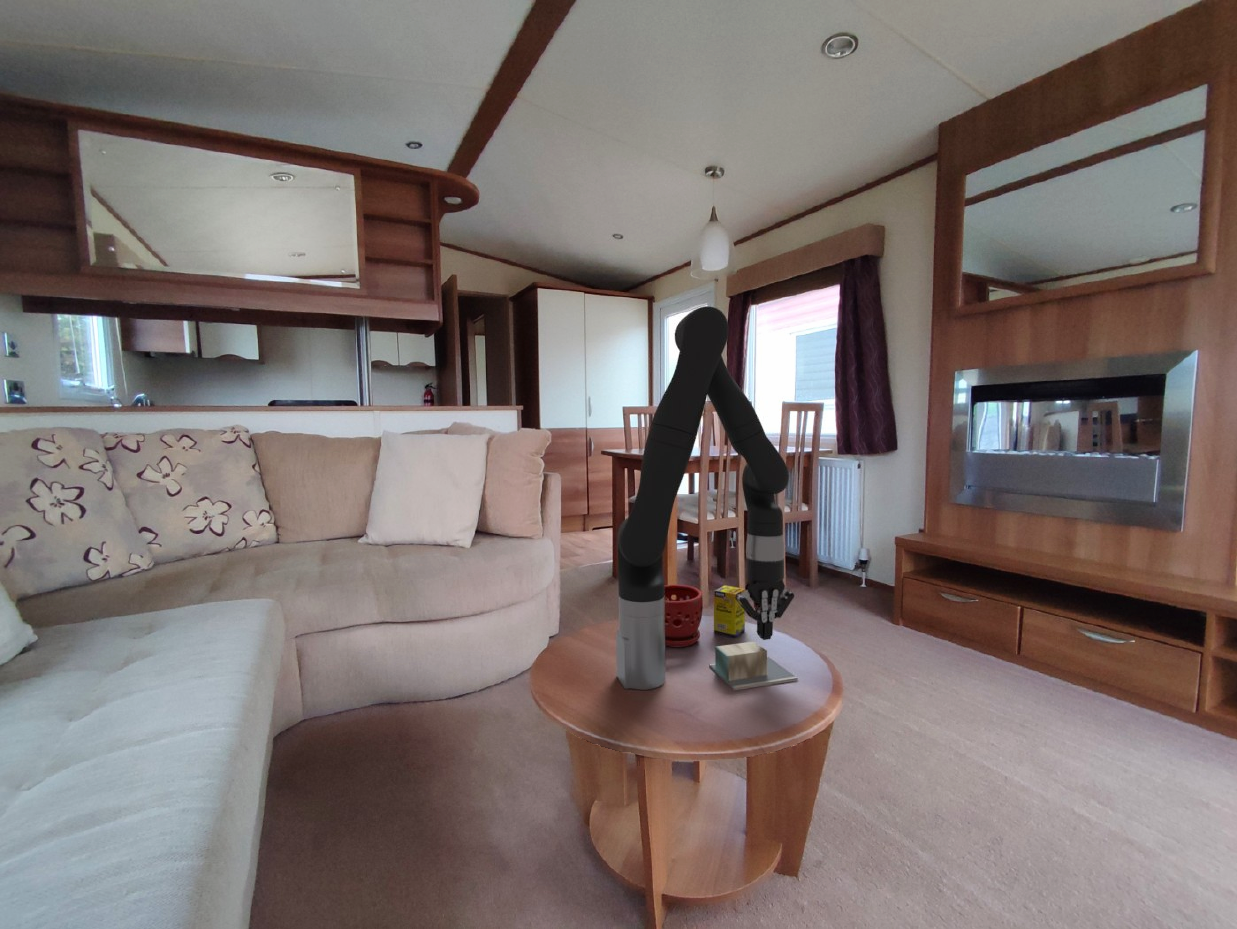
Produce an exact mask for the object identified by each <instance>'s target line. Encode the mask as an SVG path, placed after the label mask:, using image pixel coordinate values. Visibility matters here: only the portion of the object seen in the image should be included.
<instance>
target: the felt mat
mask: <svg viewBox="0 0 1237 929" xmlns="http://www.w3.org/2000/svg"><path fill="white" fill-rule="evenodd" d="M708 664H709V667H710V669H711V670H712V671H713V672H714V673H715V674H717V675H718V677H720V678H721V679H722V680H723V681H724V682H725V683H726V684H728V686H729V687H730V688H732V690H733V691H740V690H745V689H752V688H757V687H764V686H765V687H766V686H772V685H778V684H782V683H789V682H791V683H792V682H796V681H798V679H799V678H798V677H797V676H796V675H794V674H793V673H792V672H790V671H789V670H787V669H786V668H785V667H783V666H782V665H781V664H780V663H778V662H777V661H775V660H774V659H772V658H771V657H769V656H768V655H767V675H763V676H757V677H750V678H744V679H737V680H731V681H726V680H725V679H724V678H723V677H722V676H721V675H720V674H719V673H718V672H717V671H716V670H715V662H714V663H708Z"/></svg>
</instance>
